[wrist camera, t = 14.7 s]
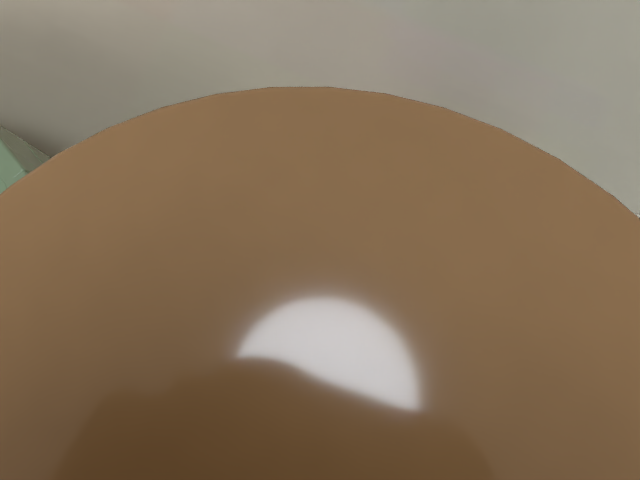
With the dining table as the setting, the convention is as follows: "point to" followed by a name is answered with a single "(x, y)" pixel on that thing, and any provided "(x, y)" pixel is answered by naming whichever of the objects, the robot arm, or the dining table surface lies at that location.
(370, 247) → the canister
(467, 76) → the dining table surface
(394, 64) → the dining table surface
